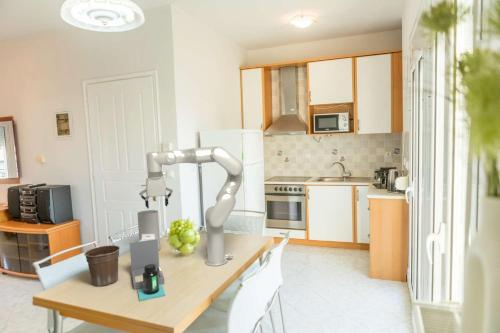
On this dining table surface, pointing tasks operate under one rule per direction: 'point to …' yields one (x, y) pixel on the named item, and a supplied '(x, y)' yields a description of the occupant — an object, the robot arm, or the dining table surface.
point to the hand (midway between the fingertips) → (157, 207)
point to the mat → (145, 297)
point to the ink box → (147, 237)
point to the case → (144, 259)
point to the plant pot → (103, 264)
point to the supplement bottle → (150, 279)
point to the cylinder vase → (149, 224)
